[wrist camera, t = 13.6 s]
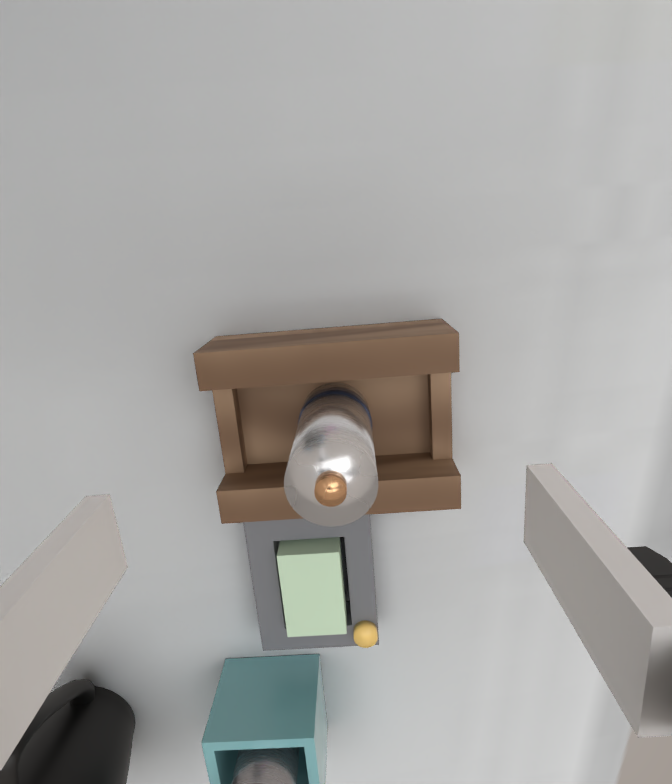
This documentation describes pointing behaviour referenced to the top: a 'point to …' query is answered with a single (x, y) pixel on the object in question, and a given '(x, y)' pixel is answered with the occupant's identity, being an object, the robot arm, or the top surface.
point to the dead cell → (266, 766)
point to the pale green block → (312, 586)
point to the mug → (75, 739)
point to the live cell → (332, 458)
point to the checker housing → (268, 589)
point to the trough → (329, 365)
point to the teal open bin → (268, 714)
